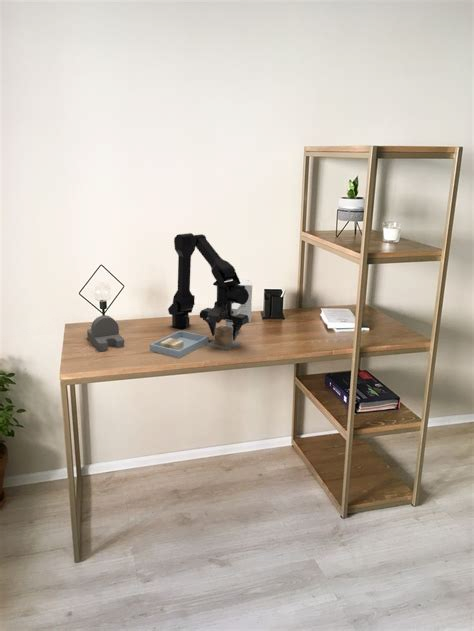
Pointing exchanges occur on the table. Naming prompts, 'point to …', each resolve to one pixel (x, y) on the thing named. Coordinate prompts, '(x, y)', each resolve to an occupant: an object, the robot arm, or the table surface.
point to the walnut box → (223, 335)
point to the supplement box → (247, 306)
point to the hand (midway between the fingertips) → (223, 337)
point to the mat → (224, 346)
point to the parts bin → (189, 344)
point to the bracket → (105, 333)
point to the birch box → (172, 344)
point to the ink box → (234, 314)
